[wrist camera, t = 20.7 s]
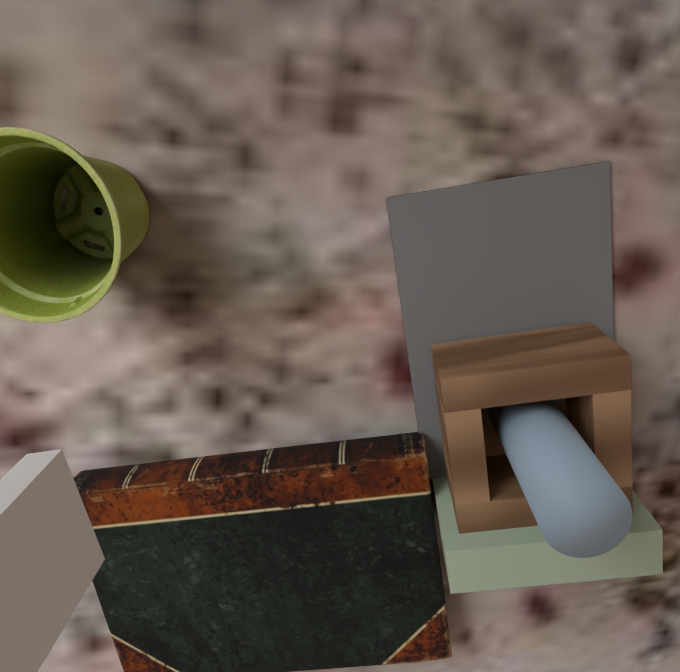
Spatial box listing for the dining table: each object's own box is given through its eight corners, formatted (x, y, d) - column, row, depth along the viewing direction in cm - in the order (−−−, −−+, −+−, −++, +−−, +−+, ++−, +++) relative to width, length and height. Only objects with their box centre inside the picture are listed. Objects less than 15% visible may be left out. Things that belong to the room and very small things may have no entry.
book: (143, 647, 48) (446, 623, 46) (126, 686, 45) (452, 662, 42) (83, 464, 43) (421, 425, 40) (57, 492, 39) (426, 451, 37)
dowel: (485, 384, 37) (536, 486, 25) (549, 375, 36) (630, 474, 25) (492, 441, 38) (543, 562, 27) (554, 433, 38) (634, 552, 26)
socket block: (430, 344, 37) (440, 380, 32) (590, 322, 36) (630, 355, 31) (446, 479, 40) (459, 533, 35) (595, 462, 39) (632, 516, 34)
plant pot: (192, 158, 35) (136, 162, 27) (162, 302, 38) (103, 345, 30) (40, 110, 35) (-64, 100, 26) (22, 259, 38) (-76, 292, 29)
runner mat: (386, 197, 35) (386, 198, 35) (608, 161, 34) (609, 161, 34) (424, 477, 41) (425, 479, 41) (615, 455, 40) (616, 457, 39)
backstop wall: (431, 476, 41) (445, 551, 33) (607, 456, 40) (662, 530, 32) (436, 512, 42) (450, 593, 34) (608, 493, 41) (662, 574, 33)
